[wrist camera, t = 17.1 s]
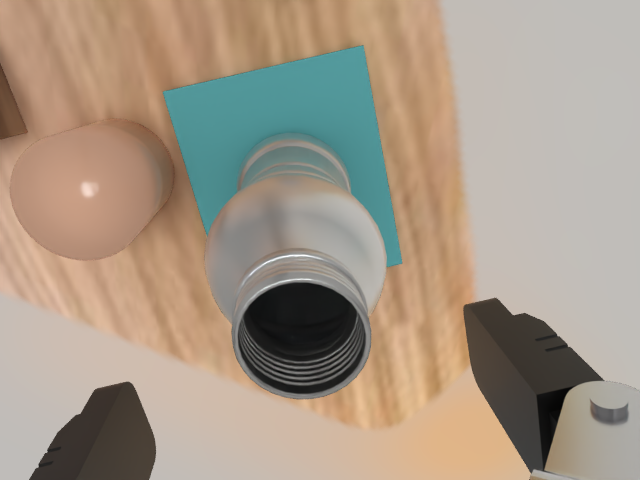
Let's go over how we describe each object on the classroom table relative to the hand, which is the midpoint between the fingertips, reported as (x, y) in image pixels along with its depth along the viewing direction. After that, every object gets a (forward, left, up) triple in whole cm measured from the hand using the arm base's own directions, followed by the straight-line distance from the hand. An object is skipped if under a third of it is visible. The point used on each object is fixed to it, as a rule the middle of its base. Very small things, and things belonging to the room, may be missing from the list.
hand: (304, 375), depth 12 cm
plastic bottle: (0, 0, -22) cm, 22 cm away
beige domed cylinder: (-3, -10, -22) cm, 24 cm away
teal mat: (0, 0, -22) cm, 22 cm away
